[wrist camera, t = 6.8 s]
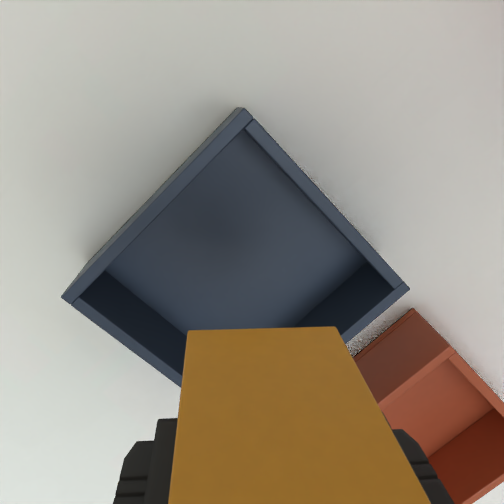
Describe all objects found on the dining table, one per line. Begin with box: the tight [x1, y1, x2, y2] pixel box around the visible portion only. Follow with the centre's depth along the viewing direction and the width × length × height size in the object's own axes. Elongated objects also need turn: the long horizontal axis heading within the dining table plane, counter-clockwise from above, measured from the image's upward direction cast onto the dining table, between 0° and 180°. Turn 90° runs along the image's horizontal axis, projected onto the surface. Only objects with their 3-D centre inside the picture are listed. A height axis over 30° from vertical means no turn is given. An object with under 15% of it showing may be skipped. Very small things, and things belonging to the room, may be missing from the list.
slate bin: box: [61, 107, 410, 387], centre depth 22 cm, size 12×12×4 cm
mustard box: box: [168, 326, 431, 504], centre depth 10 cm, size 4×4×8 cm
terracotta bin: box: [353, 308, 504, 504], centre depth 27 cm, size 11×11×4 cm
